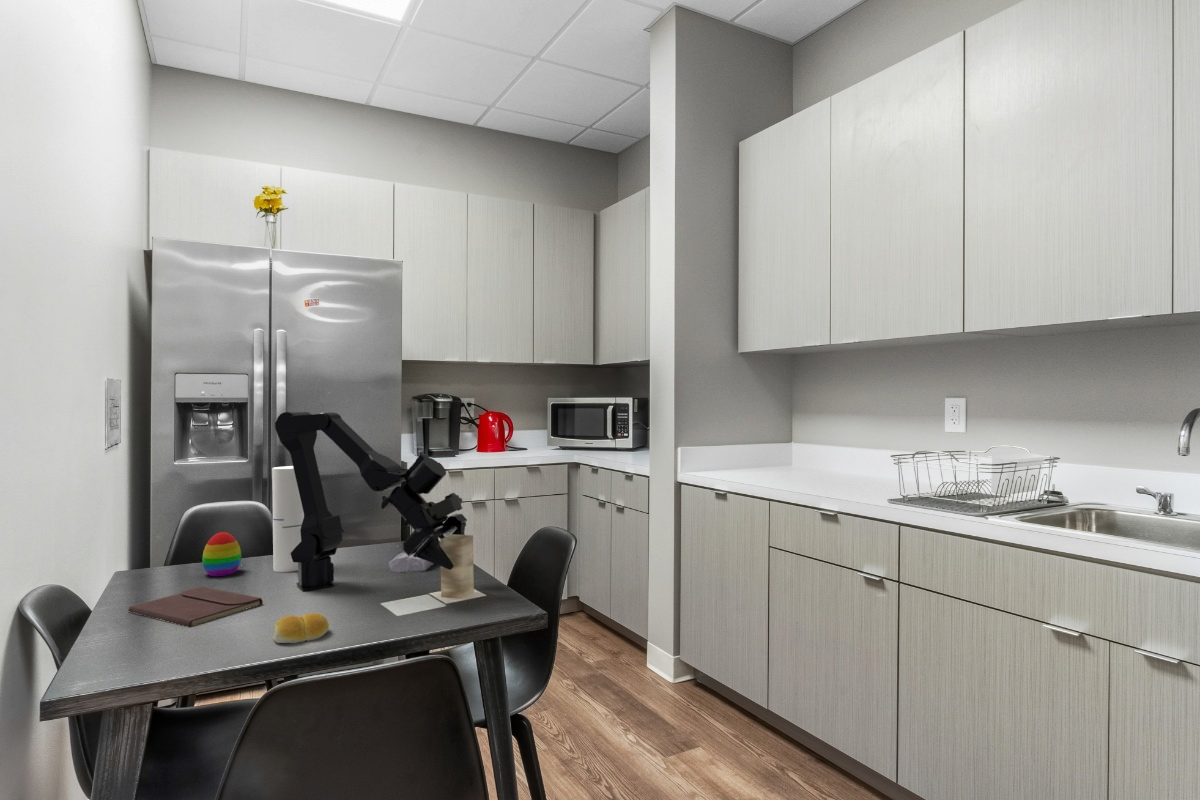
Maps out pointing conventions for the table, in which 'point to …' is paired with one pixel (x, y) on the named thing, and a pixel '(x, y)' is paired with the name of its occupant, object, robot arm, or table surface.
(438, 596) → the tile
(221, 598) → the notebook
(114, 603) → the table surface
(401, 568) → the stone block
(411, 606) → the grey mat
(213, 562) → the decorative egg
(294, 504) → the cylindrical container
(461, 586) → the maple block
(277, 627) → the bread roll
